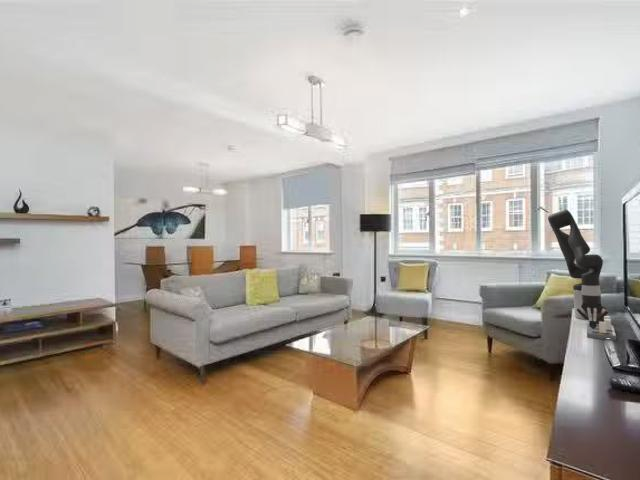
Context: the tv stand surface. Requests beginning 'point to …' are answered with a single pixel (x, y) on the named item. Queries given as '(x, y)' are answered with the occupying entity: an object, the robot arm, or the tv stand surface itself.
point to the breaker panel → (596, 333)
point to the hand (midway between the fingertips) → (593, 328)
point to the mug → (599, 315)
